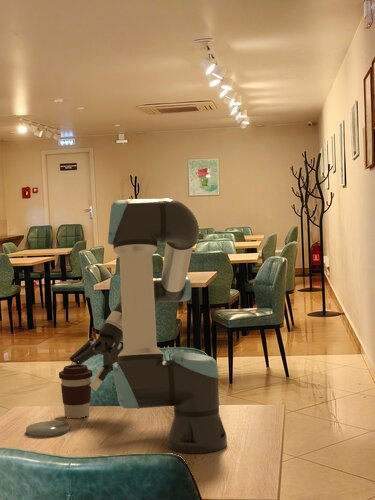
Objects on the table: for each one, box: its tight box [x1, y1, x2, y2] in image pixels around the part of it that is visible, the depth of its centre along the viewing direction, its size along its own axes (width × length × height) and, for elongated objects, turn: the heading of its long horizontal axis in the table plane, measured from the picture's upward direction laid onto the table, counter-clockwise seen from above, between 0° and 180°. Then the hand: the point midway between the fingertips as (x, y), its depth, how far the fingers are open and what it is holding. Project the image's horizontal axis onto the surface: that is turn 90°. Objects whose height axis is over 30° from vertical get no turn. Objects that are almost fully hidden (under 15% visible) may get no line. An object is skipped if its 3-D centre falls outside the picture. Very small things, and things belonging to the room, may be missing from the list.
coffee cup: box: [58, 364, 93, 419], centre depth 219 cm, size 10×10×15 cm
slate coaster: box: [25, 420, 71, 439], centre depth 204 cm, size 12×12×1 cm
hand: (78, 385), depth 221 cm, fingers open, 13 cm apart
